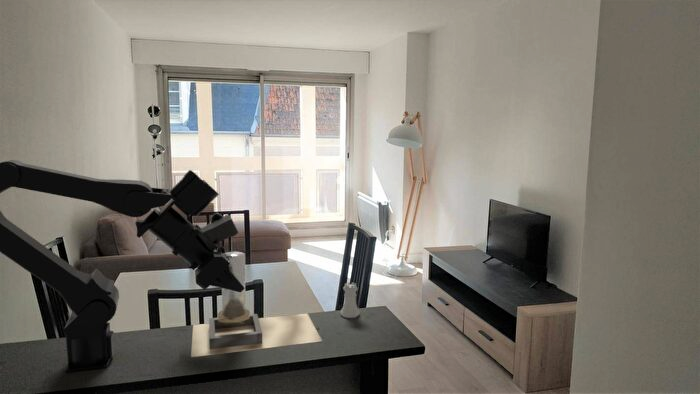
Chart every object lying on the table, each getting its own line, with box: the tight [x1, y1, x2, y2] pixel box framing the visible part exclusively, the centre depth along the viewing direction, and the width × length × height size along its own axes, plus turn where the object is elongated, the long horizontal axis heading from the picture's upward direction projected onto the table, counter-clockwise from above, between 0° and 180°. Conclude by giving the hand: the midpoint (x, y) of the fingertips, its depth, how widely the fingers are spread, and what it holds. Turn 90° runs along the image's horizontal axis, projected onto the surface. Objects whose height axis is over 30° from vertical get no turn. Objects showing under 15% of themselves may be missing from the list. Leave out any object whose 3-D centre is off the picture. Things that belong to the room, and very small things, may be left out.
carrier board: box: [190, 313, 323, 358], centre depth 91 cm, size 24×14×3 cm, turn 107°
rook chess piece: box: [340, 281, 361, 319], centre depth 101 cm, size 4×4×8 cm
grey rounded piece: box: [217, 251, 251, 325], centre depth 88 cm, size 6×6×13 cm
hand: (240, 286), depth 89 cm, fingers closed on grey rounded piece, 4 cm apart
